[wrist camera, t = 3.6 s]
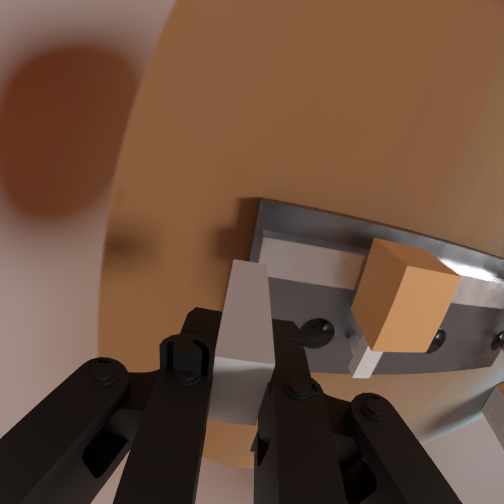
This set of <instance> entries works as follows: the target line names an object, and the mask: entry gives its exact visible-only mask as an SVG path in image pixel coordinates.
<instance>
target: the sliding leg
mask: <svg viewBox="0 0 504 504" xmlns="http://www.w3.org/2000/svg"><path fill="white" fill-rule="evenodd" d="M460 279H461V276H460V275H459V274H457V273H456V272H455V271H454V270H452V269H451V268H450V267H448V266H447V265H445V264H444V263H443V262H441V261H440V260H439V259H437V258H436V257H434V256H433V255H432V254H430V253H429V252H427V251H426V250H424V249H421V248H417V247H413V246H409V245H405V244H400V243H396V242H392V241H387V240H383V239H378V238H374V239H373V243H372V246H371V249H370V253H369V256H368V259H367V262H366V266H365V269H364V272H363V275H362V278H361V281H360V284H359V287H358V290H357V292H356V295H355V298H354V301H353V304H352V306H351V309H350V310H351V312H352V314H353V316H354V318H355V320H356V321H357V323H358V325H359V327H360V329H361V331H362V333H363V336H362V338H361V340H359V338H358V337H357V336H351V337H350V338H349V339H348V344H349V346H350V349H351V351H352V354H353V358H352V360H351V362H350V364H349V366H348V368H349V371H350V373H351V376H352V378H369V377H370V376H371V374H372V372H373V370H374V368H375V367H376V365H377V363H378V361H379V359H380V357H381V355H382V353H383V352H426V351H427V350H428V348H429V346H430V344H431V342H432V340H433V338H434V337H435V335H436V333H437V331H438V329H439V327H440V325H441V323H442V321H443V319H444V316H445V314H446V312H447V310H448V308H449V306H450V303H451V301H452V299H453V296H454V294H455V292H456V289H457V287H458V284H459V282H460Z"/></svg>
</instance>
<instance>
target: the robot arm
mask: <svg viewBox="0 0 504 504" xmlns="http://www.w3.org/2000/svg"><path fill="white" fill-rule="evenodd" d="M302 340H303V339H302V334H301V330H300V329H299V328H298V327H297V325H296V324H295V323H294V322H293V321H286V320H279V319H272V318H271V307H270V295H269V284H268V273H267V265H266V264H260V263H254V262H248V261H242V260H236V259H234V260H233V265H232V270H231V274H230V279H229V284H228V289H227V294H226V299H225V304H224V309H223V312H221V311H215V310H209V309H204V308H198V307H196V308H195V309H193V310H192V311H191V312H189V313H188V314H187V317H186V319H185V322H184V324H183V327H182V330H181V332H180V334H177V335H172V336H170V337H168V338H166V339H164V340H163V341H162V343H161V344H160V369H159V370H156V371H153V372H145V373H132V372H128V371H127V370H126V368H125V366H124V365H123V364H121V363H120V362H119V361H117V360H114V359H111V358H105V357H99V358H95V359H91V360H89V361H87V362H86V363H84V364H83V365H82V366H80V367H79V368H78V369H77V370H76V371H75V372H74V373H73V374H71V375H70V376H69V377H68V378H67V379H66V380H65V381H63V382H62V383H61V384H60V385H59V386H58V387H57V388H55V389H54V390H53V391H52V392H51V393H50V394H49V395H48V396H47V397H45V398H44V399H43V400H42V401H41V402H40V403H39V404H38V405H37V406H35V407H34V408H33V409H32V410H31V411H30V412H29V413H28V414H27V415H26V416H25V417H23V418H22V419H21V420H20V421H19V422H18V423H17V424H16V425H15V426H14V427H13V428H12V429H11V430H9V431H8V432H7V433H6V434H5V435H4V436H3V437H2V438H1V439H0V504H90V503H91V502H92V500H93V499H94V498H95V496H96V495H97V494H98V492H99V491H100V490H101V488H102V487H103V486H104V484H105V483H106V482H107V480H108V479H109V478H110V476H111V475H112V474H113V472H114V471H115V469H116V468H117V467H118V465H119V464H120V463H121V461H122V460H123V459H124V457H125V455H126V454H127V453H128V452H129V450H130V452H129V456H128V459H127V461H126V464H125V467H124V470H123V473H122V476H121V479H120V482H119V486H118V488H117V492H116V495H115V498H114V501H113V504H195V499H196V492H197V486H198V479H199V472H200V465H201V458H202V452H203V446H204V439H205V433H206V424H207V419H210V420H217V421H223V422H230V423H238V424H247V425H256V422H257V419H258V431H257V433H256V436H255V439H254V441H253V444H252V447H251V450H250V451H252V452H254V504H462V502H461V501H460V500H459V498H458V497H457V495H456V494H455V492H454V491H453V489H452V488H451V487H450V485H449V484H448V482H447V481H446V479H445V478H444V476H443V475H442V474H441V472H440V471H439V469H438V468H437V466H436V465H435V464H434V462H433V461H432V459H431V458H430V457H429V455H428V454H427V453H426V451H425V450H424V448H423V447H422V445H421V444H420V443H419V441H418V440H417V439H416V437H415V436H414V434H413V433H412V432H411V430H410V429H409V427H408V426H407V425H406V423H405V422H404V421H403V419H402V418H401V417H400V415H399V414H398V412H397V411H396V410H395V408H394V407H393V406H392V404H391V403H390V402H389V401H388V400H387V399H385V398H384V397H382V396H380V395H378V394H374V393H362V394H359V395H357V396H356V397H355V398H354V399H353V400H352V402H348V401H344V400H341V399H337V398H334V397H331V396H328V395H326V394H325V393H323V390H322V388H321V386H320V384H318V383H317V382H316V381H315V380H314V379H313V378H311V375H310V370H309V366H308V361H307V357H306V352H305V349H304V343H303V341H302Z"/></svg>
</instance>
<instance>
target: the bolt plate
mask: <svg viewBox="0 0 504 504" xmlns="http://www.w3.org/2000/svg"><path fill="white" fill-rule="evenodd" d="M374 238H378V239H383V240H387V241H392V242H396V243H400V244H405V245H409V246H413V247H417V248H421V249H424V250H426V251H427V252H429V253H430V254H432V255H433V256H434V257H436V258H437V259H439V260H440V261H441V262H443V263H444V264H445V265H447V266H448V267H450V268H451V269H452V270H454V271H455V272H456V273H457V274H459V275H460V276H461V279H460V282H459V284H458V287H457V289H456V292H455V294H454V296H453V299H452V301H451V303H450V306H449V308H448V310H447V312H446V314H445V316H444V319H443V321H442V323H441V325H440V327H439V329H438V331H437V333H436V335H435V337H434V338H433V340H432V342H431V344H430V346H429V348H428V350H427V351H426V352H383V353H382V355H381V357H380V359H379V361H378V363H377V365H376V367H375V368H374V370H373V372H372V374H417V373H434V372H447V371H458V370H467V369H476V368H483V367H490V366H492V364H493V362H494V361H495V359H496V357H497V356H498V354H499V352H500V351H501V349H502V350H503V351H504V258H501V257H498V256H495V255H492V254H489V253H486V252H483V251H480V250H477V249H474V248H470V247H467V246H464V245H461V244H457V243H454V242H450V241H447V240H444V239H440V238H437V237H433V236H429V235H426V234H422V233H419V232H415V231H411V230H407V229H403V228H400V227H396V226H392V225H388V224H384V223H380V222H376V221H371V220H367V219H363V218H359V217H354V216H350V215H346V214H341V213H337V212H332V211H327V210H323V209H318V208H313V207H308V206H303V205H298V204H293V203H288V202H283V201H278V200H272V199H267V198H261V197H260V202H259V207H258V213H257V218H256V224H255V229H254V235H253V240H252V246H251V251H250V257H249V262H254V263H260V264H266V265H267V273H268V284H269V295H270V307H271V318H272V319H279V320H286V321H293V322H294V323H295V324H296V325H297V327H298V328H299V329H300V330H301V334H302V339H303V340H302V341H303V343H304V349H305V352H306V357H307V361H308V366H309V370H310V372H322V373H340V374H351V373H350V371H349V368H348V366H349V364H350V362H351V360H352V358H353V354H352V351H351V349H350V346H349V344H348V339H349V338H350V337H351V336H357V337H358V338H359V340H361V338H362V336H363V333H362V331H361V329H360V327H359V325H358V323H357V321H356V320H355V318H354V316H353V314H352V312H351V310H350V309H351V306H352V304H353V301H354V298H355V295H356V292H357V290H358V287H359V284H360V281H361V278H362V275H363V272H364V269H365V266H366V262H367V259H368V256H369V253H370V249H371V246H372V243H373V239H374Z"/></svg>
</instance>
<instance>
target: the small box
mask: <svg viewBox="0 0 504 504" xmlns="http://www.w3.org/2000/svg"><path fill="white" fill-rule="evenodd" d="M481 411H482V413H483V415H484V416H485V418H486V419H487V421H488V423H489V425H490V426H491V428H492V430H493V431H494V433H495V435H496V436H497V438H498V440H499V442H500V443H501V445H502V447H503V449H504V382H503V383H501V384H498V385H496V387H495V388H494V390H493V392H492V393H491V395H490V397H489V398H488V400H487V401H486V403H485V404H484V406H483V408H482V409H481Z"/></svg>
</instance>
